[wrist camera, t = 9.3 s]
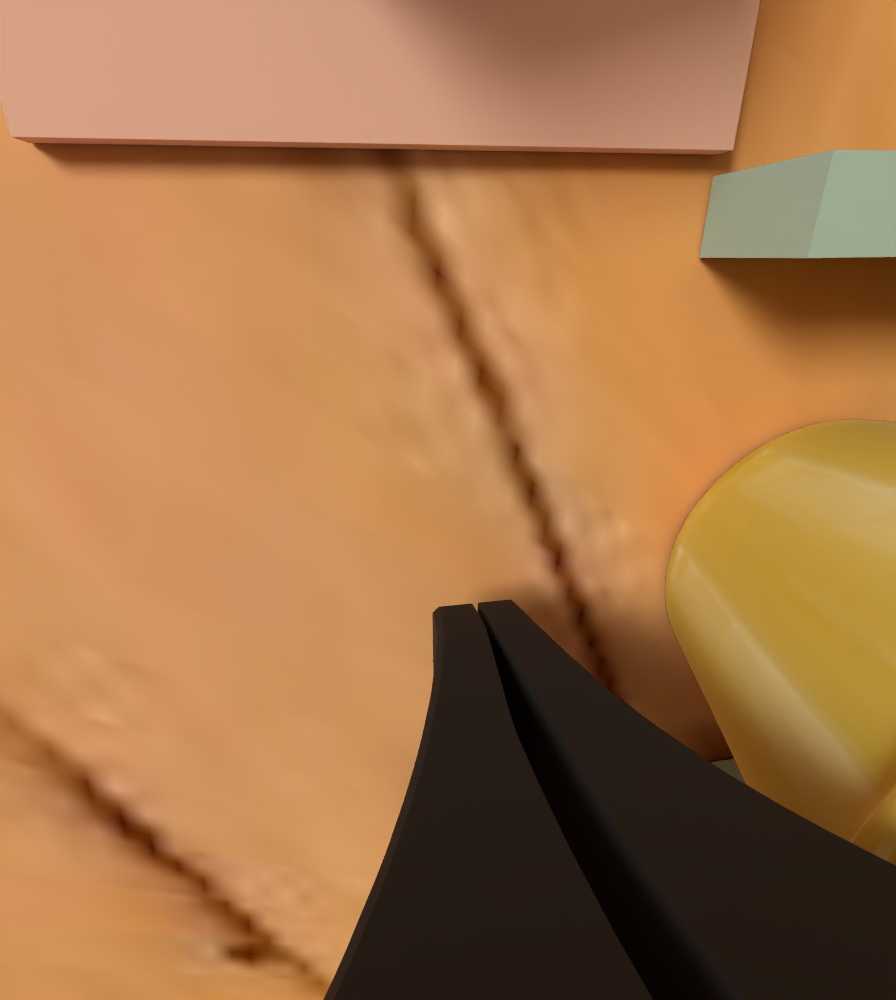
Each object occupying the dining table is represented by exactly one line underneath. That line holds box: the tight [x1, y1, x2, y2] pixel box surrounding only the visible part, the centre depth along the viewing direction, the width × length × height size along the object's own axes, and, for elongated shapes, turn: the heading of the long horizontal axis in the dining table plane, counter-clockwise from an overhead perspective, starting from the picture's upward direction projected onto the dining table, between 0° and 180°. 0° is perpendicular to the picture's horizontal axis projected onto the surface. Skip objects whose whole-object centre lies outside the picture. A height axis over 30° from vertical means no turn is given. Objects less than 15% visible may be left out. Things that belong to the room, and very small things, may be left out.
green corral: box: [699, 150, 896, 784], centre depth 11 cm, size 15×10×2 cm, turn 1°
